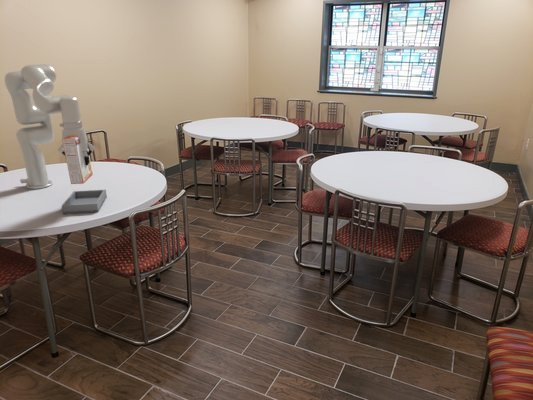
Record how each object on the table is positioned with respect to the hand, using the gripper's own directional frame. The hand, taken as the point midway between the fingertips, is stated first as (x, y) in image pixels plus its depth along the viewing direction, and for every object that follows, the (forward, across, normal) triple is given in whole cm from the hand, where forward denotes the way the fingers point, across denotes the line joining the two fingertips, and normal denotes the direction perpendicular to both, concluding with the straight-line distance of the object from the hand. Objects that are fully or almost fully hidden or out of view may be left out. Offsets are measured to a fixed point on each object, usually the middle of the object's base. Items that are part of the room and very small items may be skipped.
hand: (79, 164), depth 186 cm
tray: (+20, 0, 0) cm, 20 cm away
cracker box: (+7, 0, 0) cm, 7 cm away
